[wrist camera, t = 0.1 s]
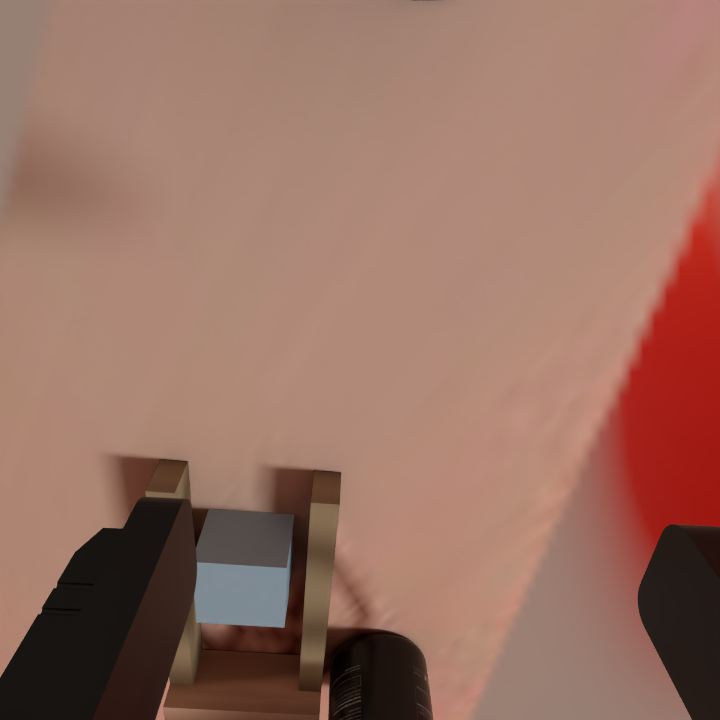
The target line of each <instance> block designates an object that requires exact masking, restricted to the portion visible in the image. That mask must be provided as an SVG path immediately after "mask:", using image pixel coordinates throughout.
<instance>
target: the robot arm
mask: <svg viewBox="0 0 720 720" xmlns="http://www.w3.org/2000/svg"><path fill="white" fill-rule="evenodd" d="M414 1H432V0H414ZM196 580H197V558H196V547H195V537H194V527H193V517H192V507H191V503H190V500H189V499H182V498H161V497H141V498H140V499H139V500H138V501H137V503H136V505H135V507H134V509H133V511H132V512H131V514H130V516H129V518H128V520H127V522H126V524H125V526H124V528H123V529H116V528H103V529H101V530H100V531H99V532H98V533H97V534H96V535H95V536H93V537H92V538H91V539H90V540H89V541H88V542H86V543H85V544H84V545H83V546H82V547H81V548H80V549H78V550H77V551H76V552H75V553H74V555H73V557H72V558H71V560H70V562H69V563H68V565H67V567H66V568H65V570H64V572H63V573H62V575H61V577H60V579H59V580H58V582H57V587H56V588H54V589H53V590H52V592H51V594H50V595H49V597H48V599H47V600H46V602H45V604H44V605H43V607H42V612H41V614H38V615H37V617H36V619H35V620H34V622H33V624H32V625H31V627H30V629H29V631H28V632H27V634H26V636H25V637H24V639H23V641H22V642H21V644H20V646H19V647H18V649H17V651H16V652H15V654H14V656H13V657H12V659H11V661H10V662H9V664H8V666H7V667H6V669H5V671H4V672H3V674H2V676H1V677H0V720H155V719H156V716H157V712H158V709H159V706H160V703H161V700H162V697H163V694H164V690H165V687H166V684H167V681H168V678H169V675H170V671H171V668H172V665H173V662H174V659H175V656H176V653H177V649H178V646H179V643H180V640H181V637H182V634H183V631H184V627H185V624H186V621H187V618H188V615H189V612H190V609H191V605H192V602H193V598H194V593H195V587H196ZM638 607H639V613H640V616H641V620H642V623H643V625H644V627H645V629H646V631H647V633H648V635H649V637H650V639H651V641H652V643H653V645H654V646H655V648H656V651H657V652H658V654H659V656H660V658H661V660H662V662H663V664H664V666H665V668H666V670H667V672H668V674H669V676H670V678H671V679H672V682H673V683H674V685H675V687H676V689H677V691H678V693H679V695H680V697H681V699H682V701H683V703H684V705H685V707H686V709H687V711H688V712H689V714H690V717H691V718H692V720H720V528H719V527H714V526H694V525H669V526H667V527H666V528H665V529H664V530H663V532H662V534H661V536H660V539H659V541H658V543H657V546H656V548H655V551H654V553H653V555H652V558H651V560H650V562H649V565H648V567H647V570H646V572H645V574H644V577H643V579H642V581H641V584H640V587H639V591H638Z"/></svg>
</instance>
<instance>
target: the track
mask: <svg viewBox="0 0 720 720" xmlns="http://www.w3.org/2000/svg"><path fill="white" fill-rule="evenodd" d="M340 485H341V473H339V472H325V471H314V478H313V487H312V496H311V507H310V522H309V538H308V553H307V568H306V583H305V598H304V614H303V629H302V644H301V655H289V654H272V653H254V652H237V651H220V650H202V638H201V625H200V623H197V622H196V611H195V599H194V598H193V602H192V605H191V609H190V612H189V615H188V618H187V621H186V624H185V627H184V631H183V634H182V637H181V640H180V643H179V646H178V649H177V653H176V656H175V659H174V662H173V665H172V668H171V671H170V675H169V679H170V686H169V689H168V693H167V696H166V699H165V703H164V706H163V710H164V717H165V720H319V713H320V697H321V685H322V675H323V665H324V655H325V645H326V635H327V625H328V615H329V605H330V595H331V585H332V575H333V565H334V555H335V545H336V535H337V525H338V515H339V505H340ZM145 494H146V497H161V498H182V499H189V500H190V503H191V495H190V482H189V469H188V462H186V461H172V460H160V462H159V464H158V466H157V468H156V470H155V472H154V474H153V476H152V478H151V480H150V482H149V484H148V486H147V488H146V490H145Z"/></svg>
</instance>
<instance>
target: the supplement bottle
mask: <svg viewBox="0 0 720 720" xmlns="http://www.w3.org/2000/svg"><path fill="white" fill-rule="evenodd" d="M328 720H433V713H432V705H431V697H430V689H429V681H428V674H427V666H426V661H425V658H424V655H423V653H422V652H421V650H420V649H419V648H418V647H417V646H416V645H415V644H414V643H413V642H411V641H410V640H408V639H406V638H403V637H401V636H398V635H394V634H387V633H372V634H366V635H361V636H358V637H355V638H353V639H351V640H349V641H347V642H346V643H344V644H343V645H342V646H341V647H340V648H339V649H338V650H337V651H336V653H335V654H334V656H333V658H332V661H331V666H330V684H329V715H328Z"/></svg>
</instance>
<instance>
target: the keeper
mask: <svg viewBox="0 0 720 720" xmlns="http://www.w3.org/2000/svg"><path fill="white" fill-rule="evenodd" d="M293 534H294V514H279V513H265V512H250V511H236V510H221V509H209V510H208V513H207V516H206V519H205V522H204V525H203V528H202V532H201V535H200V538H199V541H198V544H197V547H196V558H197V580H196V587H195V593H194V599H195V611H196V622H197V623H214V624H231V625H247V626H264V627H281V628H284V627H285V619H286V611H287V604H288V596H289V589H290V581H291V574H292V555H293Z"/></svg>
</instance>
